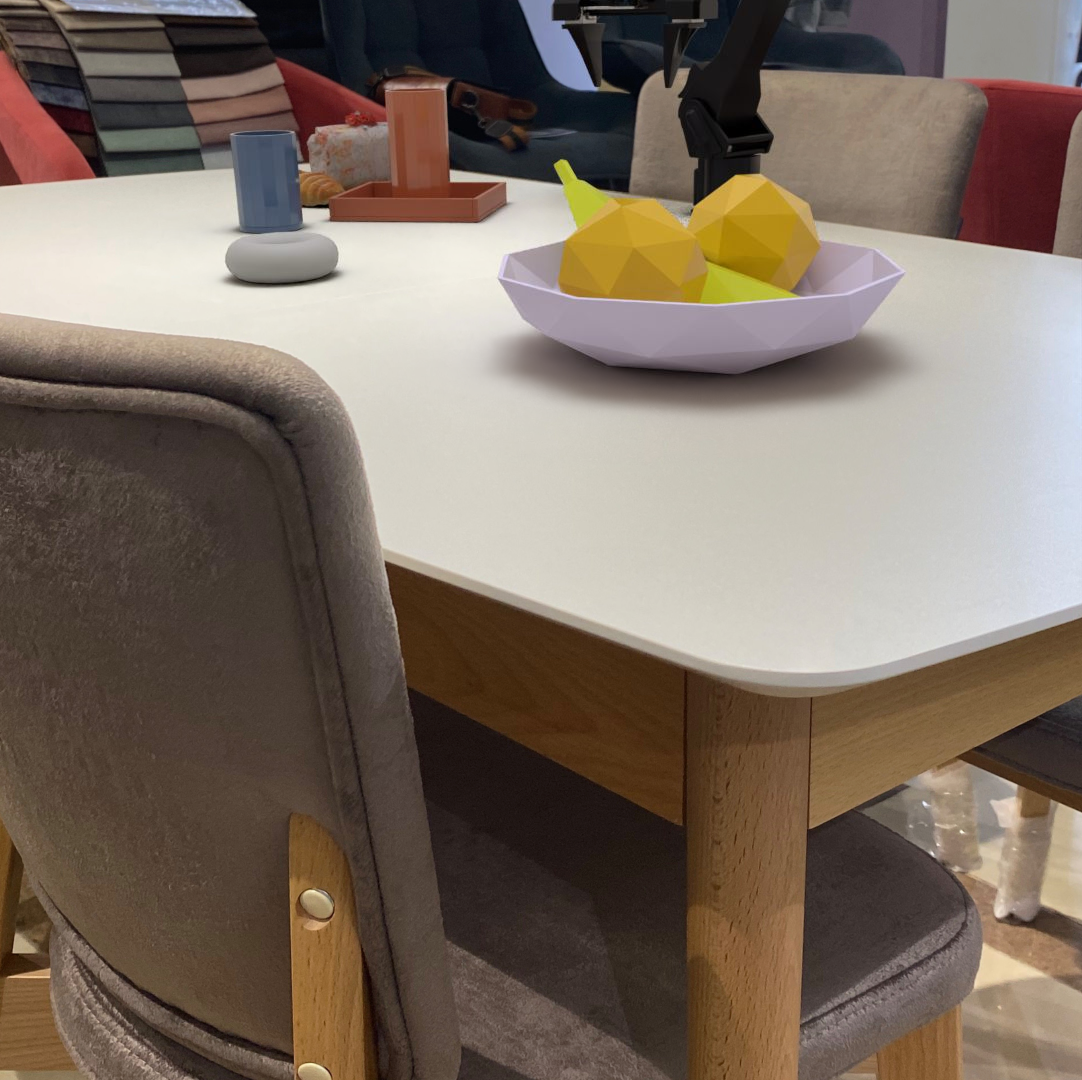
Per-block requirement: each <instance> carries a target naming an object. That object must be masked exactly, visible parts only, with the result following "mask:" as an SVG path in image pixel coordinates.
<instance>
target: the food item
mask: <svg viewBox="0 0 1082 1080" xmlns="http://www.w3.org/2000/svg"><path fill="white" fill-rule="evenodd" d="M344 118H345V119H344V123H342V124H330V125H324V126H316V127H315V129H314V130H315V131H314V132H315V133H313V134H311V135H310V136H309V137H308V139H307V141H306V146H307V151H308V158H309V159H308V162H309V167H310V172H321V173H323V174H327V175H329V176H330V178H332V179H336V180H337V182H339V183H341V184H342V187H343V189H344V190H345V191H348V190H350V189H353V188H355V187H358V186H360V185H363V184H365V183H368V182H390V166H389V150H388V133H387V121H377V118H376V116H374V115H373V114H372V113H370V112H369V111H367V112H366V113H361V112H360V111H358V110H356V111H355V112H350V114H347V115H346V116H344Z"/></svg>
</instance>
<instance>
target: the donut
mask: <svg viewBox="0 0 1082 1080" xmlns="http://www.w3.org/2000/svg"><path fill="white" fill-rule="evenodd" d="M339 254H340V253H339V249H338V246H337V245H336V243H335V241H334V240H332V239H331V238H330V237H328V236H326V235H325V234H324V235H323V234H322V233H317V232H308V231H307V232H306V231H288V232H275V233H256V234H251V235H246V236H242V237H240V238H238V239H236V240H234V241H232V242H231V243H230V245H229V246H228V247H227V250H226V252H225V255H224V262H225V266H226V268H227V270H228V271H229V272H230V273H231V275H233V276H234V277H236V278H237V279H239V280H242V281H245V282H249V283H257V284H289V283H298V282H306V281H311V280H312V281H313V280H316V279H319V278H323V277H325V276H326V275H328V274H330V273H332V272H333V271H334V270H335V269H336V268H337V265H338V263H339V256H340V255H339Z"/></svg>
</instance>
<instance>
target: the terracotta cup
mask: <svg viewBox="0 0 1082 1080" xmlns="http://www.w3.org/2000/svg"><path fill="white" fill-rule="evenodd" d="M384 98H385V99H384V100H385V114H386V116H385V117H386V122H387V133H388V150H389V166H390V182H391V198H451V187H450V182H451V169H450V167H451V166H450V165H451V164H450V146H449V145H450V144H449V123H448V122H449V121H448V120H449V119H448V101H447V89H446V88H440V87H411V88H410V87H409V88H393V89H386V90H384Z"/></svg>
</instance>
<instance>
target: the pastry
mask: <svg viewBox="0 0 1082 1080" xmlns="http://www.w3.org/2000/svg"><path fill="white" fill-rule="evenodd" d="M299 181H300V192H301V204H302V206H305V207H314V206H317V205H323V206H326V205H329V200H328V199H329V198H331V197H333V196H336V195H338V194H341V193H343V192H345V190H344V189H343V187H342V184H341V183H339V182H337V180H336V179H332V178H330V176H329V175H327V174H323V173H321V172H311V171H307V170H302V169H299Z"/></svg>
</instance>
